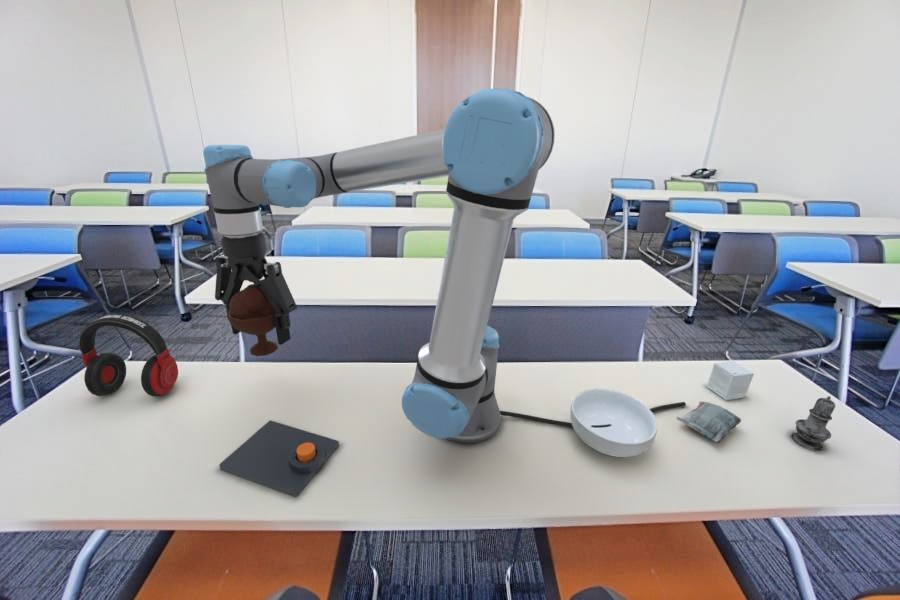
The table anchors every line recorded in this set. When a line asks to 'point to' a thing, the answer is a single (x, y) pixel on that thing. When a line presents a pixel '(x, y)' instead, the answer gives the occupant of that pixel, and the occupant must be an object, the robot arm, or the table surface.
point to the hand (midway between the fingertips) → (261, 336)
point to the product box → (730, 380)
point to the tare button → (306, 452)
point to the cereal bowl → (613, 422)
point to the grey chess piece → (815, 425)
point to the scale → (279, 458)
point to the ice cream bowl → (253, 318)
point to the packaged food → (710, 420)
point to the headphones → (110, 368)
